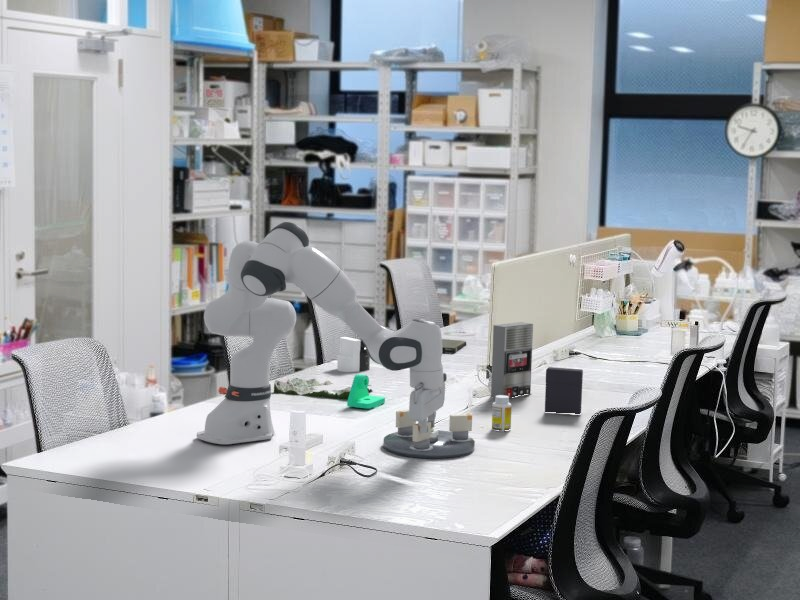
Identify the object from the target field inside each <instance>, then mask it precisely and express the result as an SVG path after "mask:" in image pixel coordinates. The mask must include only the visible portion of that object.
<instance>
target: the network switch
mask: <svg viewBox="0 0 800 600" xmlns="http://www.w3.org/2000/svg"><path fill="white" fill-rule="evenodd" d="M466 346H467V342H466V340H458V339H447V338H446V339H445V338H442V354H447V355H449V354H450V355H455V354H456V353H458V352H459V351H461V350H462V349H463V348H465V347H466Z"/></svg>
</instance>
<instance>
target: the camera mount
mask: <svg viewBox="0 0 800 600" xmlns="http://www.w3.org/2000/svg"><path fill="white" fill-rule="evenodd" d="M369 382H370V378H369V375H366V374H360V373H358V374H357V373H356V374H355V375H354V377H353V380H352V384H351V386H350V387H351V390H350V394H349V397H348V400H346V404H347V405H346V406H347V407H351V408H353V407H354V408H358V409H366V410H367V409H368V410H369V409H375V408H379V407H381V405H383V404H385V403H386V397H385V396H378V395H371V394H370V393H368V389H369V388H368V387H369V386H368V385H370V383H369ZM367 388H368V389H367Z"/></svg>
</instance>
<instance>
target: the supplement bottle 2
mask: <svg viewBox="0 0 800 600" xmlns="http://www.w3.org/2000/svg"><path fill="white" fill-rule="evenodd" d="M491 411H492V412H491V413H492V416H491V430H492V429H494V430H499V431H505V430H509V429H511V428H512V403H510V399H509V396H505V395H497V396H496V397H495V398H494V401H493V403H492V409H491Z"/></svg>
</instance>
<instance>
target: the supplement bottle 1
mask: <svg viewBox="0 0 800 600" xmlns="http://www.w3.org/2000/svg"><path fill="white" fill-rule="evenodd" d="M358 340H360V367H359V371H358V372H367V371H369V370H370V367H371V366H370V363H371V361H370V360H371V358H370V357H369V355H368V353H367V351H366V348H365V345H364V343H363V341H362V340H361V339H360V338H359V339H358Z"/></svg>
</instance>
